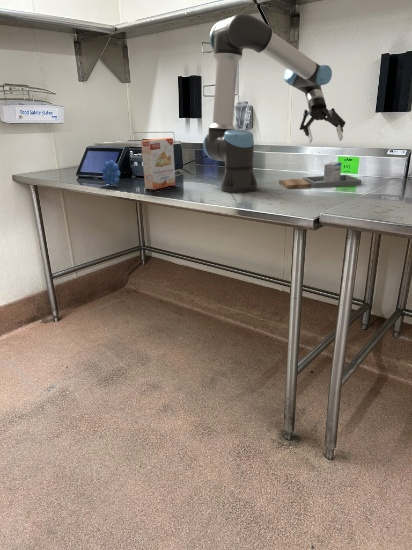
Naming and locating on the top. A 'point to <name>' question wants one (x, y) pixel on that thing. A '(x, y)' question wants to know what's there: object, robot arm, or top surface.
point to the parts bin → (349, 182)
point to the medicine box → (332, 171)
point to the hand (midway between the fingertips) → (326, 139)
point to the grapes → (111, 172)
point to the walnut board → (294, 183)
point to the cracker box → (158, 163)
